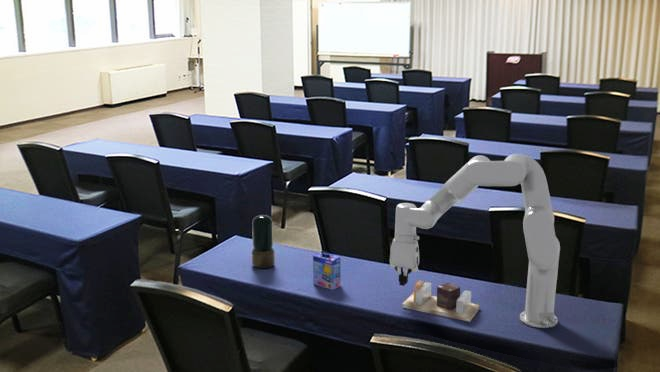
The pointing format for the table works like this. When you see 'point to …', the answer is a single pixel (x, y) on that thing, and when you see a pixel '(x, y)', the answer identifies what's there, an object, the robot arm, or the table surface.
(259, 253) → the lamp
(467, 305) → the fixed jaw
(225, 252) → the table surface
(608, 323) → the table surface
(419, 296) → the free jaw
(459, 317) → the vise base
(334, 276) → the ink cartridge box
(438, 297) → the box
